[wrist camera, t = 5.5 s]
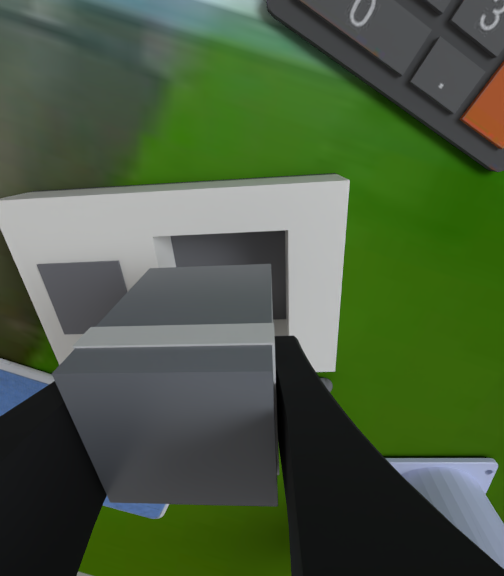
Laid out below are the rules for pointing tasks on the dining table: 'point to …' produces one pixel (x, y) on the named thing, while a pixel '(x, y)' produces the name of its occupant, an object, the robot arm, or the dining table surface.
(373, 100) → the dining table surface
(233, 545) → the dining table surface
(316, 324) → the switch plate
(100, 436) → the block
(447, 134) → the calculator
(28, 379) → the tablet computer
